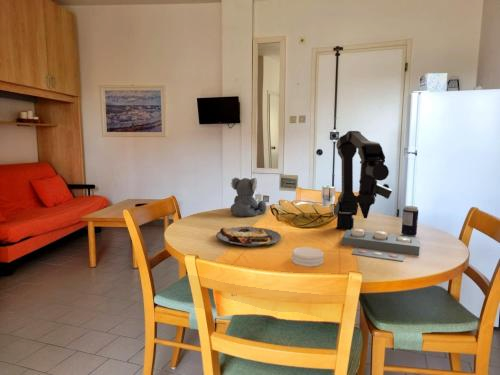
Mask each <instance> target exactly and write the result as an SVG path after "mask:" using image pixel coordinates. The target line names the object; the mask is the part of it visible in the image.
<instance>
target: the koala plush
mask: <svg viewBox="0 0 500 375" xmlns="http://www.w3.org/2000/svg"><path fill="white" fill-rule="evenodd" d="M230 184H231V185H230V186H231V188H232V189H233V190H235V191H236V194H237V195H236V196H234V200H233V201H234V203H232V204H231V205H230V209H229V210H230V211H231V213H232V215H233V216H235V217H237V218H238V217H240V218H241V217H248V218H249V217H250V218H251V217H256V216H260V215H263V214H265V213H266V212H267V203H266V201H265V200H260V201H258V202H257V200H256V198H254V197H253V196H254V194H255V191H256V189H257V187H258V186H257V184H258V178H256V177H253V178H250V179H249V178H247V177H244V178H241V179H240V178H238V177H234V178H231V182H230Z"/></svg>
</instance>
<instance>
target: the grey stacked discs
mask: <svg viewBox="0 0 500 375" xmlns="http://www.w3.org/2000/svg"><path fill="white" fill-rule="evenodd" d="M291 262H292V263H294V264H295V265H297V266H300V267H307V268H313V267H320V266H322V265H323V264H324V252H323V250H320V249H318V248H316V247H309V246H304V247H303V246H302V247H301V246H300V247H296V248H294V249H292V250H291Z"/></svg>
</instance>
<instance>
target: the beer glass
mask: <svg viewBox="0 0 500 375" xmlns="http://www.w3.org/2000/svg"><path fill="white" fill-rule="evenodd" d="M321 187H322V188H321V195H320V196H321V198H320V199H321V205H323V206H329V205H330V204H334V205H335V201H336V186H330V185H323V186H321Z"/></svg>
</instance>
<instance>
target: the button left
mask: <svg viewBox="0 0 500 375" xmlns="http://www.w3.org/2000/svg"><path fill="white" fill-rule="evenodd" d="M351 230H352V236H358V237H364V232H365V230H364V229H362V228H352V229H351Z"/></svg>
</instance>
